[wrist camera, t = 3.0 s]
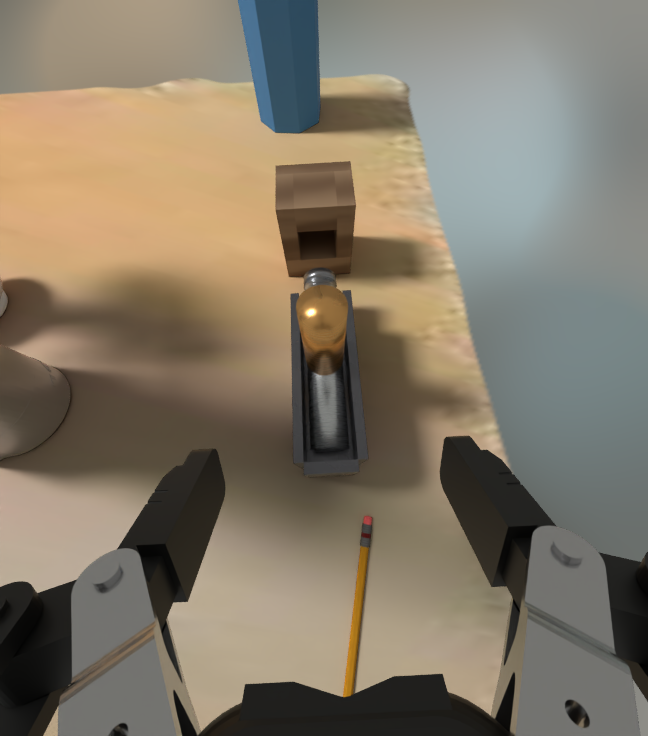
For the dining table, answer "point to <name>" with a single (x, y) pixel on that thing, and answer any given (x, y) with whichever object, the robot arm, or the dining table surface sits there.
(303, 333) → the tube
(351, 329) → the sleeve
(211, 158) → the dining table surface
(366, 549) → the pencil
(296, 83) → the water bottle
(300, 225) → the socket block
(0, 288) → the flower vase
